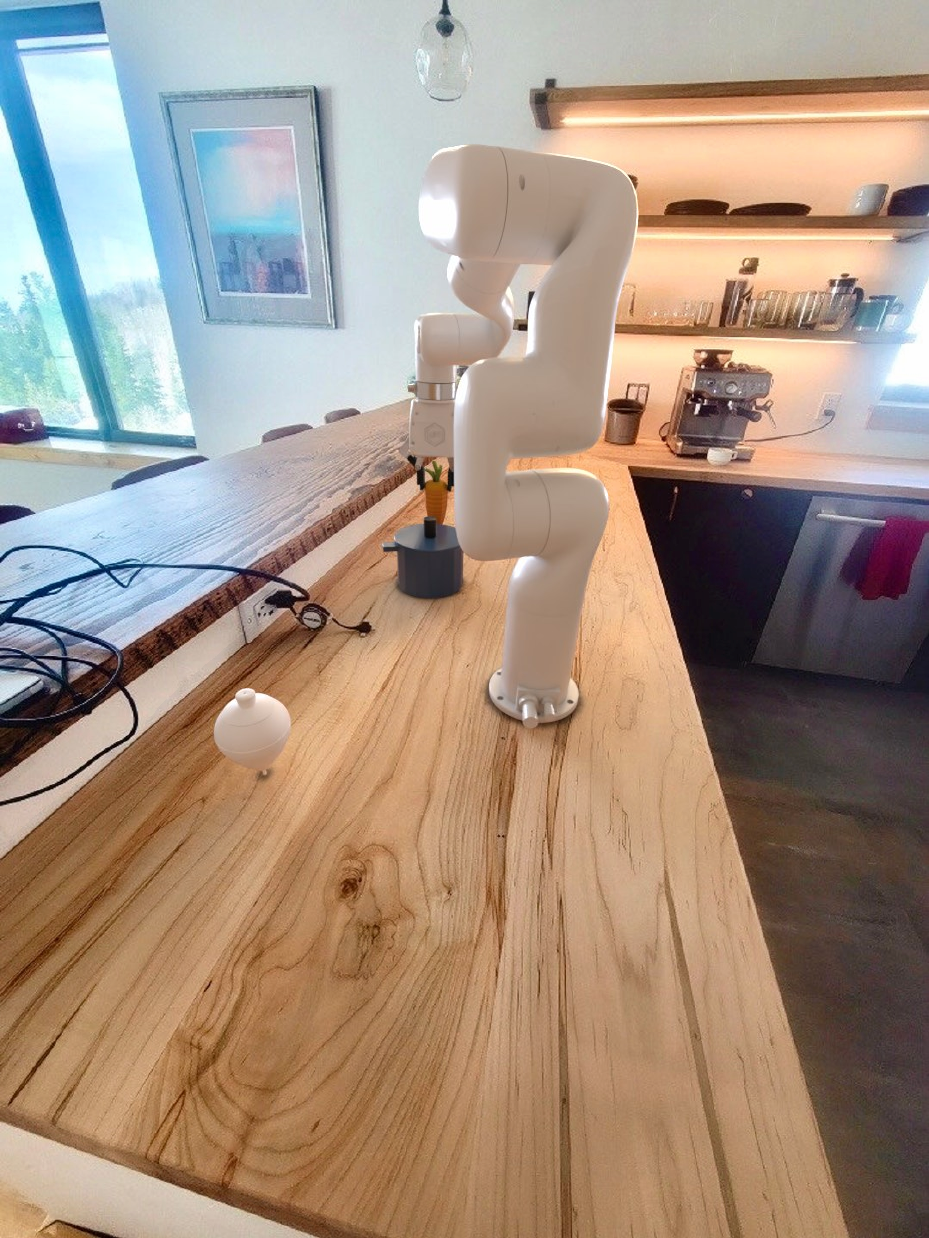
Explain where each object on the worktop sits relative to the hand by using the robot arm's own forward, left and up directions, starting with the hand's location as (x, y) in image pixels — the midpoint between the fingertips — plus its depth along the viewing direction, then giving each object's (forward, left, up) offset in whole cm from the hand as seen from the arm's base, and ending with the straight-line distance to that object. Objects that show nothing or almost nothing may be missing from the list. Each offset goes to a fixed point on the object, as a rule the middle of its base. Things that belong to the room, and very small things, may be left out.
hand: (436, 488), depth 102 cm
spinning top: (-62, +14, -16) cm, 65 cm away
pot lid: (-12, 0, -6) cm, 13 cm away
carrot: (0, 0, -10) cm, 10 cm away
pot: (-12, 0, -16) cm, 20 cm away
